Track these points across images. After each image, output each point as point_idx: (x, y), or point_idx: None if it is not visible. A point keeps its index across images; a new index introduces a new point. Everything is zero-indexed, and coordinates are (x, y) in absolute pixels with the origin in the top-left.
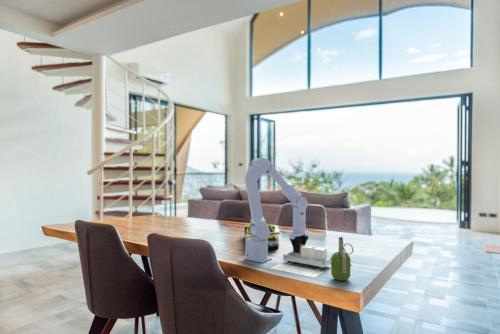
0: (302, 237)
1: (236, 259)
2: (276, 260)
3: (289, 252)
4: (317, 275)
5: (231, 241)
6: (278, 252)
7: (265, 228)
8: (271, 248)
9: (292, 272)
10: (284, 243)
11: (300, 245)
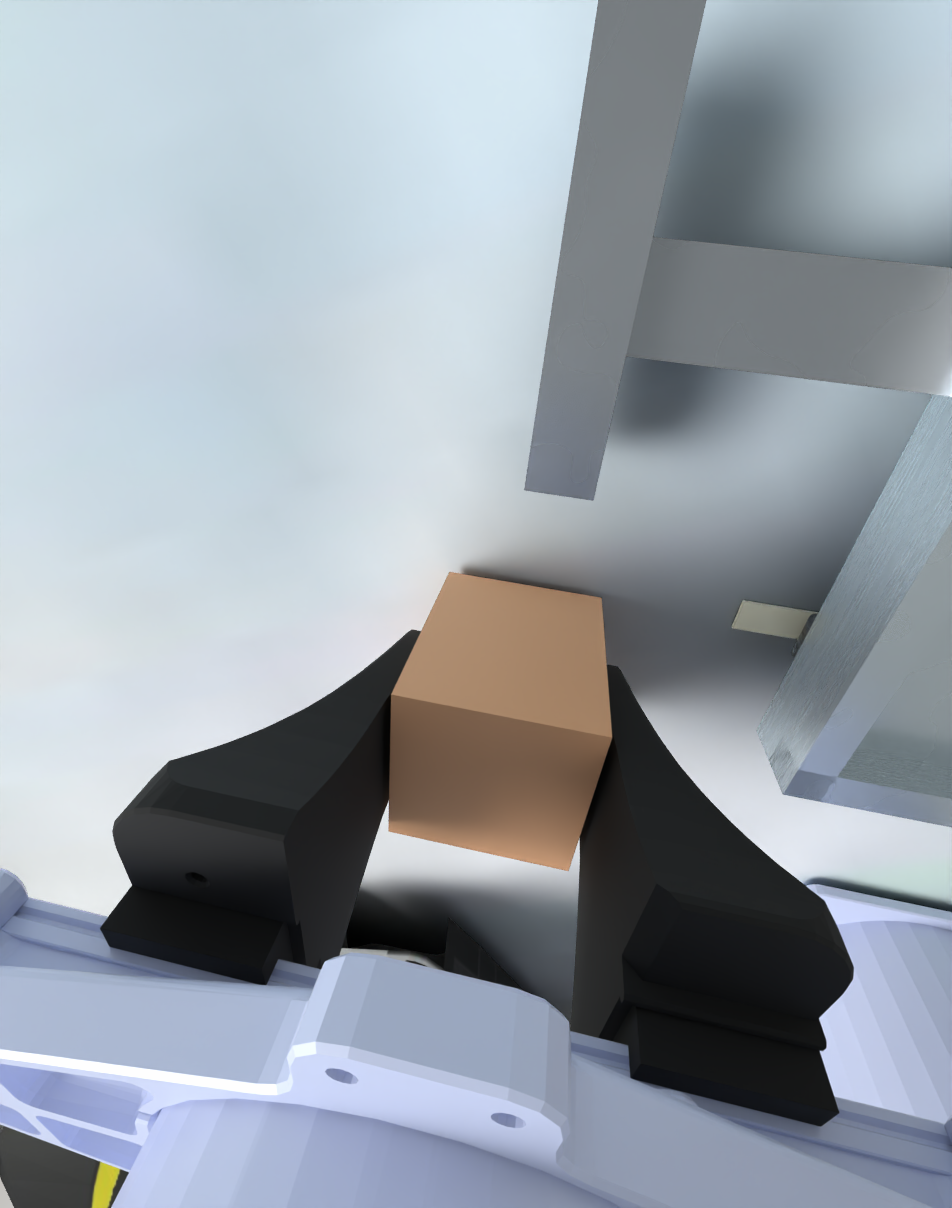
0: (316, 896)
1: None
2: (859, 830)
3: (874, 808)
4: None
5: None
6: (455, 863)
7: None
8: (466, 954)
9: None
10: (83, 869)
11: (548, 758)
